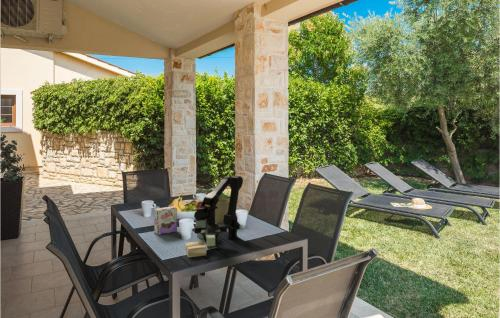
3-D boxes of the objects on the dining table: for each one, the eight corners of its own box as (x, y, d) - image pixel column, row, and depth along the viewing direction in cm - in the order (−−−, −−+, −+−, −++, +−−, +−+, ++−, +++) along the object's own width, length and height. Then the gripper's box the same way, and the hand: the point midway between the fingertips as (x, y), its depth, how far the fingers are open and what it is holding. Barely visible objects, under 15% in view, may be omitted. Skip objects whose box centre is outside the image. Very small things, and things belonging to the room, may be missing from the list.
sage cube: (206, 243, 204) (205, 235, 204) (214, 242, 205) (214, 234, 205) (206, 246, 200) (206, 238, 199) (215, 245, 200) (215, 237, 200)
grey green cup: (208, 239, 214) (208, 221, 212) (193, 238, 216) (193, 219, 214) (213, 234, 223) (213, 216, 222) (198, 233, 225) (198, 215, 224)
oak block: (185, 251, 195) (185, 242, 195) (203, 249, 198) (203, 240, 198) (188, 257, 186) (187, 248, 185) (206, 255, 189) (206, 246, 188)
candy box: (157, 235, 221) (157, 210, 219) (154, 233, 226) (153, 208, 224) (177, 231, 229) (177, 207, 227) (173, 229, 234) (173, 205, 232)
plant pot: (219, 225, 242) (219, 203, 240) (205, 221, 252) (205, 200, 250) (234, 221, 253) (234, 200, 251) (220, 217, 263) (220, 197, 261)
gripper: (194, 221, 191) (195, 248, 193) (228, 220, 195) (228, 246, 196) (194, 216, 202) (194, 242, 204) (225, 215, 205) (225, 240, 207)
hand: (210, 242), depth 202 cm, fingers closed on sage cube, 5 cm apart
